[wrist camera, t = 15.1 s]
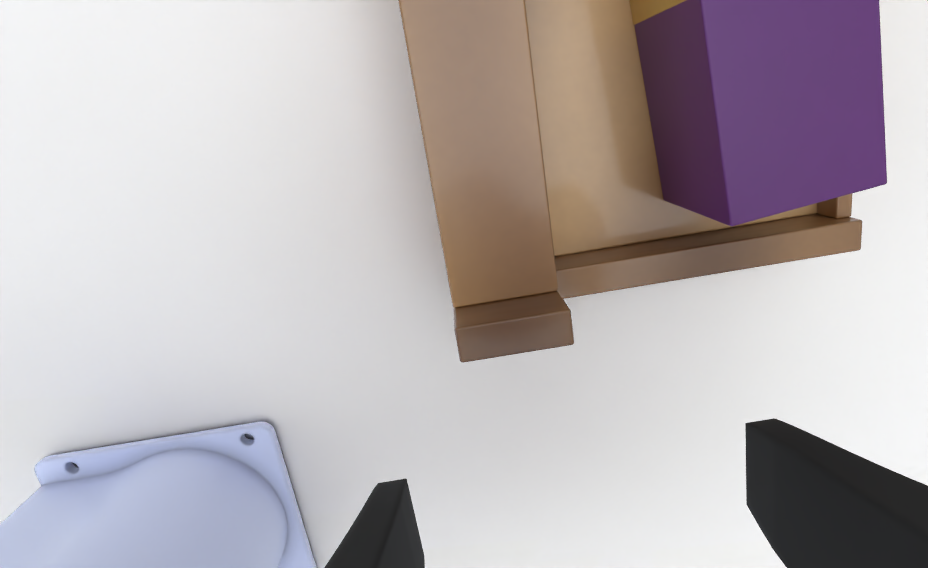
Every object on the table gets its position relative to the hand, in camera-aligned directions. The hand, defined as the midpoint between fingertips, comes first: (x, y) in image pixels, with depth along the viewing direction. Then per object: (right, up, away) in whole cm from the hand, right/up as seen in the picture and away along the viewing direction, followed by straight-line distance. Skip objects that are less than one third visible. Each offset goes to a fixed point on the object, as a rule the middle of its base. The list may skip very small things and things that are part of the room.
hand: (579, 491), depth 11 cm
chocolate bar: (+5, +12, +5) cm, 14 cm away
